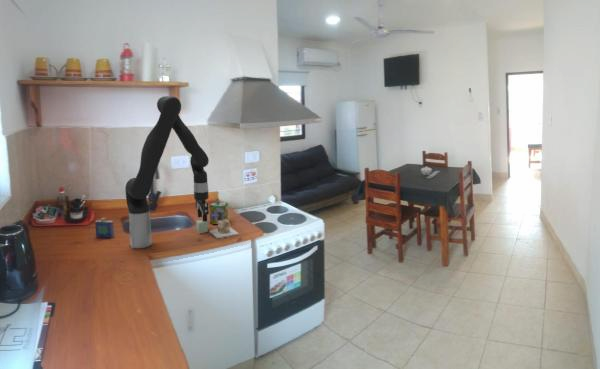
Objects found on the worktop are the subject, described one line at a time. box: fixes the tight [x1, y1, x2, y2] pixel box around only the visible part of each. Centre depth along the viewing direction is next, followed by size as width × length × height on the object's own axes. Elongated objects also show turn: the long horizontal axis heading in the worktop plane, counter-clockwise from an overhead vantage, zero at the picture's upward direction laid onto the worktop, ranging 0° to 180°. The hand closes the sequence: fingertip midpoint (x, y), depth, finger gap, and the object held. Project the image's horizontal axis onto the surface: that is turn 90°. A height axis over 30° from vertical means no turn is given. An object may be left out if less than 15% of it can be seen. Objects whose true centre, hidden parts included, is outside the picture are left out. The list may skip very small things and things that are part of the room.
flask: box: [94, 217, 115, 240], centre depth 187 cm, size 9×3×11 cm, turn 87°
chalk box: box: [208, 197, 229, 224], centre depth 215 cm, size 9×9×15 cm
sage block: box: [195, 219, 209, 234], centre depth 200 cm, size 5×5×6 cm
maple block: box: [217, 219, 231, 234], centre depth 197 cm, size 5×5×6 cm
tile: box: [208, 226, 240, 239], centre depth 198 cm, size 12×12×1 cm
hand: (202, 219), depth 199 cm, fingers open, 8 cm apart
